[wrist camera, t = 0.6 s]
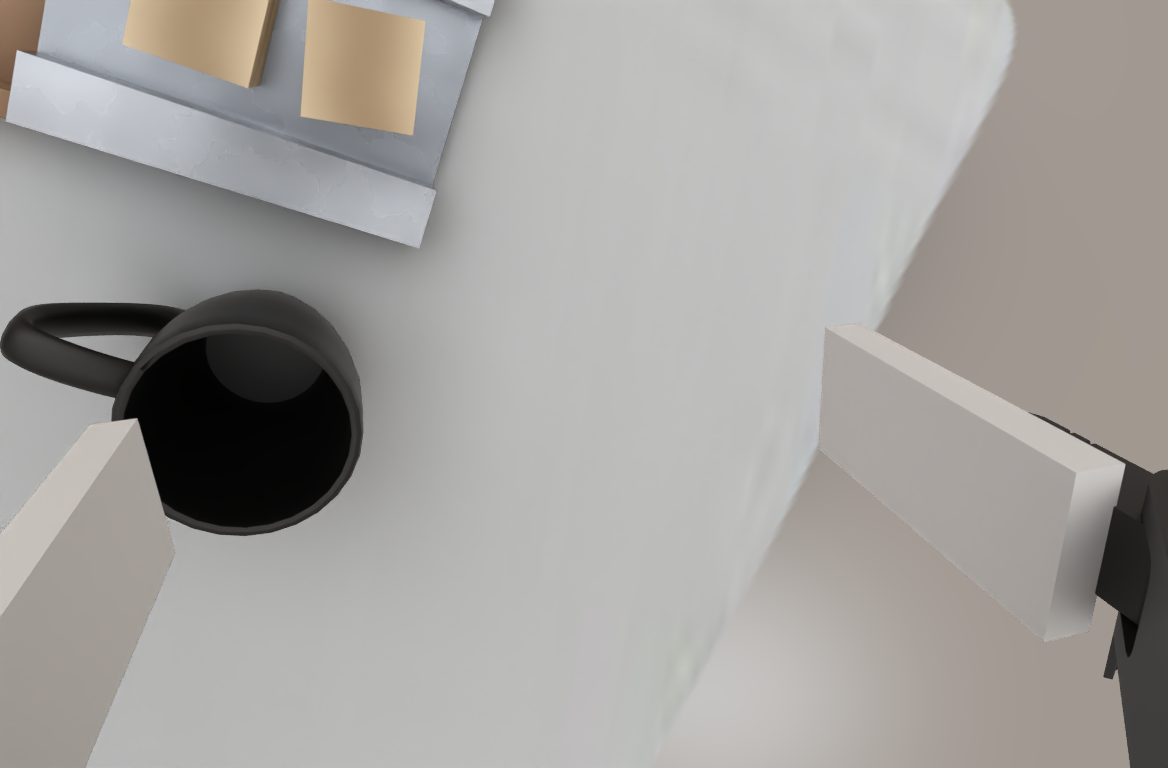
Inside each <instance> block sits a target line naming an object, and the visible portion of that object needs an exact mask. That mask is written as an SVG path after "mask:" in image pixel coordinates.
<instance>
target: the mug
mask: <svg viewBox="0 0 1168 768" xmlns="http://www.w3.org/2000/svg"><path fill="white" fill-rule="evenodd" d="M96 335H136V336H148V337H153V338H152V340H151V341H150V342H149V343H148V345H147V346H146V347H145V349H144V350H143V351H142V353H141V354H140V356H139V357H138V358H137V360H136V361H135V362H131V361H127V360H124V359H120V358H117V357H113V356H110V355H107V354H103V353H100V352H97V351H94V350H91V349H88V348H85V347H82V346H79V345H76V344H73V343H70V342H68V341H65V340H63V339H60V338H63V337H77V336H96ZM0 349H1V353H2V355H3V356H4V357H5V358H6V359H8V360H9V361H11V362H12V363H14V364H16V365H18V366H20V367H22V368H24V369H26V370H28V371H30V372H32V373H35V374H37V375H40V376H42V377H45V378H48V379H51V380H54V381H56V382H59V383H63V384H66V385H69V386H72V387H76V388H79V389H82V390H86V391H90V392H93V393H97V394H101V395H105V396H109V397H113V398H115V401H114V404H113V407H112V420H111V422H113V421H121V420H128V419H136V418H137V419H138V422H139V426H140V429H141V433H142V436H143V440H144V443H145V447H146V451H147V454H148V458H149V461H150V465H151V468H152V472H153V475H154V479H155V482H156V486H157V489H158V493H159V496H160V500H161V503H162V507H163V511H164V514H165V515H166V516H167V517H169V518H171V519H173V520H175V521H178V522H180V523H182V524H184V525H186V526H189V527H191V528H193V529H198V530H202V531H206V532H210V533H215V534H219V535H238V536H247V535H256V534H264V533H271V532H275V531H278V530H281V529H284V528H287V527H290V526H293V525H296V524H298V523H300V522H302V521H303V520H305V519H307V518H309V517H310V516H312V515H314V514H316V513H318V512H319V511H320V510H321V509H322V508H323V507H325V506H326V505H327V504H328V503H329V502H330V501H331V500H333V499H334V498H335V497H336V496H337V495H338V494H339V492H340V491H341V489H342V488H343V487H344V485H345V484H346V483H347V481H348V480H349V478H350V477H351V475H352V473H353V471H354V468H355V466H356V463H357V461H358V458H359V456H360V452H361V444H362V437H363V408H362V396H361V387H360V379H359V377H358V374H357V371H356V368H355V366H354V363H353V360H352V358H351V355H350V352H349V350H348V348H347V347H346V345H345V344H344V342H343V341H342V339H341V338H340V336H339V335H338V333H337V332H336V330H335V329H334V327H333V326H332V325H331V324H330V323H329V322H328V321H327V320H326V319H325V318H323V317H322V316H321V315H320V314H319V313H318V312H317V311H316V310H315V309H313V308H312V307H310V306H308V305H307V304H305V303H303V302H302V301H300V300H299V299H297V298H295V297H293V296H290V295H287V294H284V293H282V292H276V291H269V290H245V291H235V292H230V293H227V294H223V295H220V296H216V297H213V298H210V299H207V300H205V301H203V302H201V303H199V304H197V305H195V306H194V307H192V308H190V309H188V310H186V311H185V310H182V309H178V308H174V307H169V306H162V305H153V304H137V303H51V304H40V305H34V306H30V307H27V308H25V309H23V310H21V311H20V312H19V313H18V314H17V315H16V316H15V317H14V318H13V319H12V320H11V321H10V322H9V323H8V325H7V327H6V329H5V330H4V332H3V334H2V337H1V341H0Z"/></svg>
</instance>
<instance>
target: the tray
mask: <svg viewBox="0 0 1168 768" xmlns="http://www.w3.org/2000/svg"><path fill="white" fill-rule="evenodd" d="M45 1H46V0H0V117H1V118H4V119H6V116H7V110H8V103H9V97H10V91H11V85H12V78H13V72H14V66H15V59H16V53H17V50H27V51H37V49H38V43H39V37H40V31H41V25H42V19H43V13H44V7H45Z"/></svg>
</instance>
